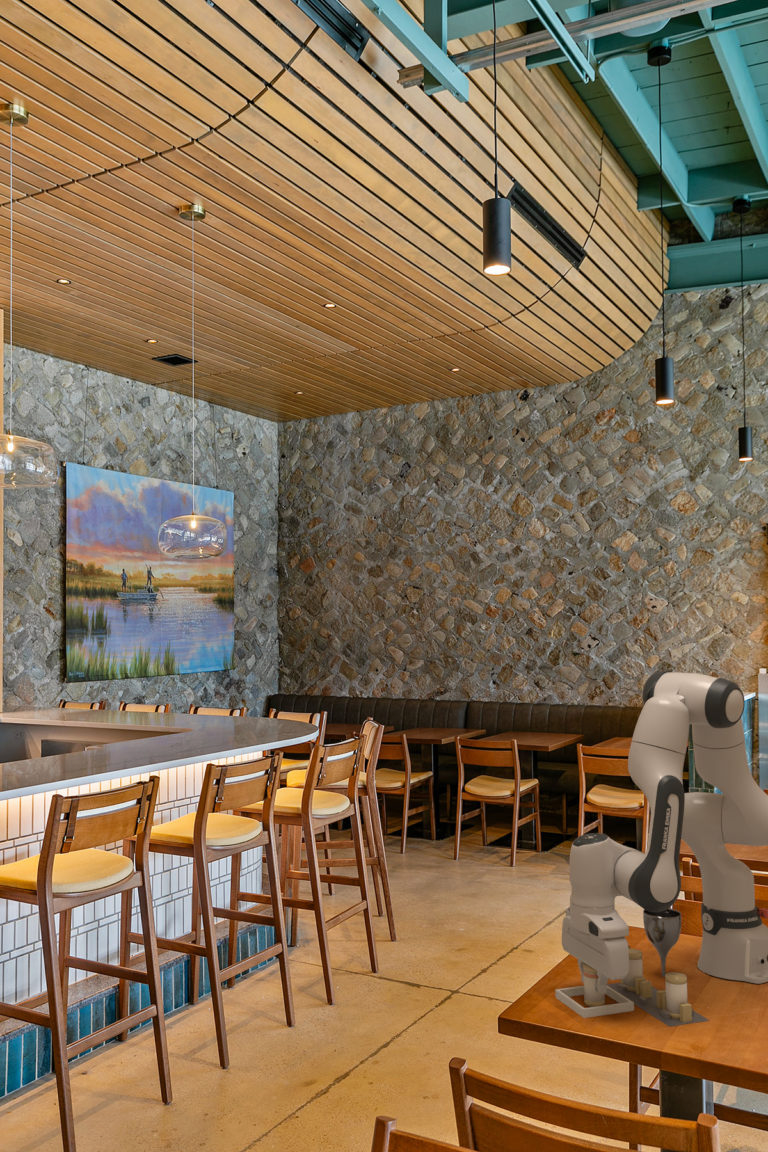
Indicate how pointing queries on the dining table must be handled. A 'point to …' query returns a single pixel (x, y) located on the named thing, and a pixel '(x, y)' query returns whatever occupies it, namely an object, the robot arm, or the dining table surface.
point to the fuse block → (656, 1003)
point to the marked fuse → (591, 988)
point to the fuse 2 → (675, 993)
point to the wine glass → (662, 931)
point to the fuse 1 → (633, 969)
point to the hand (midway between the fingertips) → (594, 987)
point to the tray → (622, 1006)
